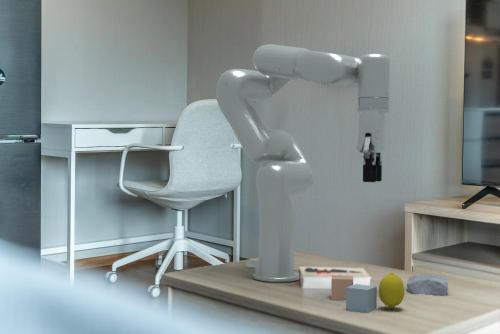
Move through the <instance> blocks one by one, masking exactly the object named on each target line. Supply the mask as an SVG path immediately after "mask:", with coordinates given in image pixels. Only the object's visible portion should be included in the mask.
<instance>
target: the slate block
mask: <svg viewBox="0 0 500 334" xmlns="http://www.w3.org/2000/svg"><path fill="white" fill-rule="evenodd" d="M377 289H378V287H377V286H375V285H366V284H358V283H355V284H353V285H352V286H349V287H346V301H345V310H346V311H351V312H359V313H364V314H365V313H366V314H368V313H370V312H373V311H375V310H377V294H378V292H377V291H378V290H377Z"/></svg>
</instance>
